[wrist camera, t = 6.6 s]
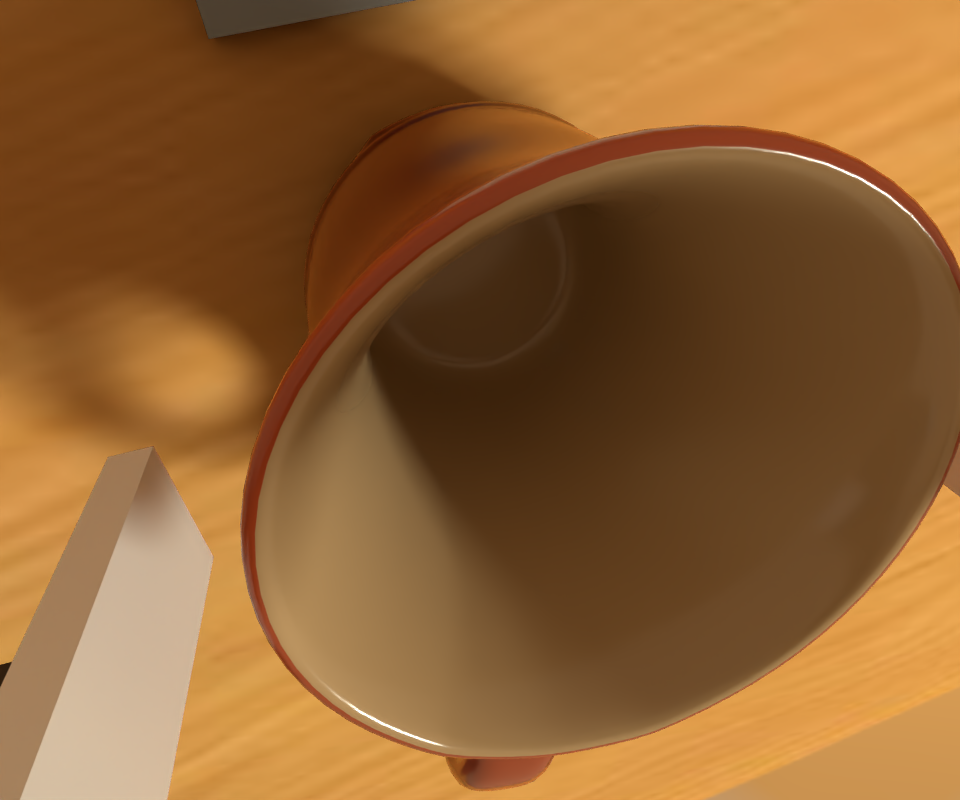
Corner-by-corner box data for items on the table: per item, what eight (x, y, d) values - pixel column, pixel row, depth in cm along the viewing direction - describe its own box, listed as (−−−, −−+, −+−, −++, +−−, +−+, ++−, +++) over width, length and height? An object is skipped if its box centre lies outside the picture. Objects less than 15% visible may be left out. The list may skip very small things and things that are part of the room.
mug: (286, 14, 13) (251, 16, 4) (670, 98, 15) (1134, 207, 7) (264, 497, 18) (229, 920, 10) (548, 499, 21) (719, 837, 12)
